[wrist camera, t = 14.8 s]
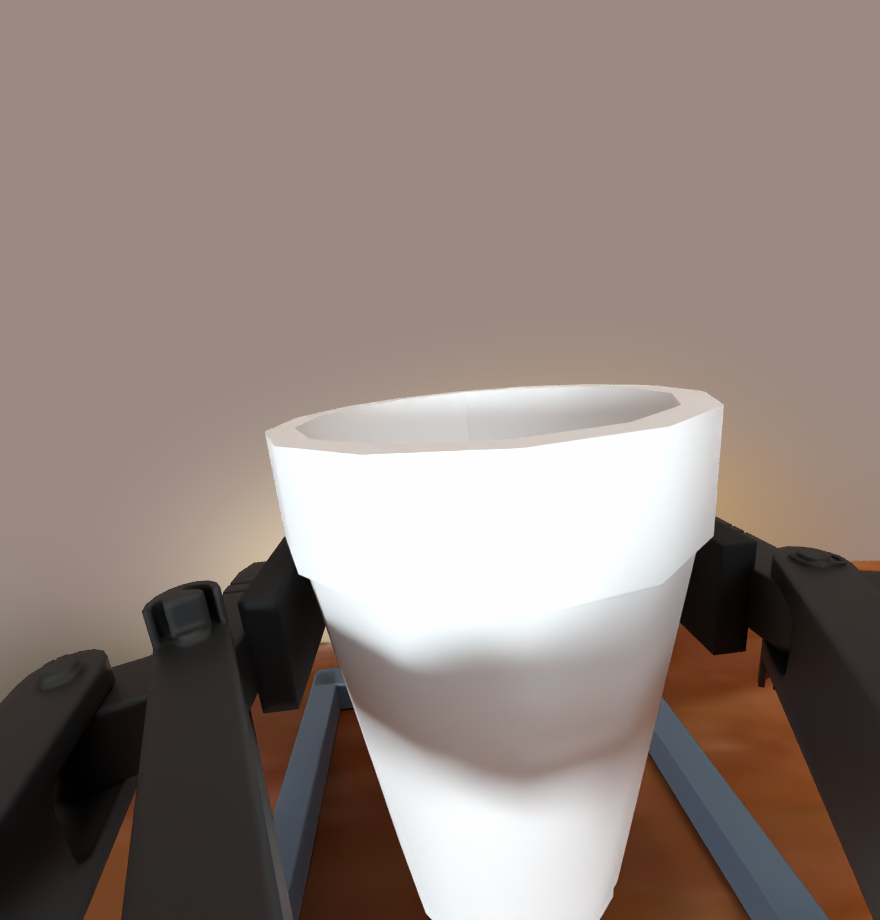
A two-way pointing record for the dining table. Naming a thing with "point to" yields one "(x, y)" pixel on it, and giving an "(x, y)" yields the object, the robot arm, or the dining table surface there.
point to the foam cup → (505, 617)
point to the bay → (672, 748)
